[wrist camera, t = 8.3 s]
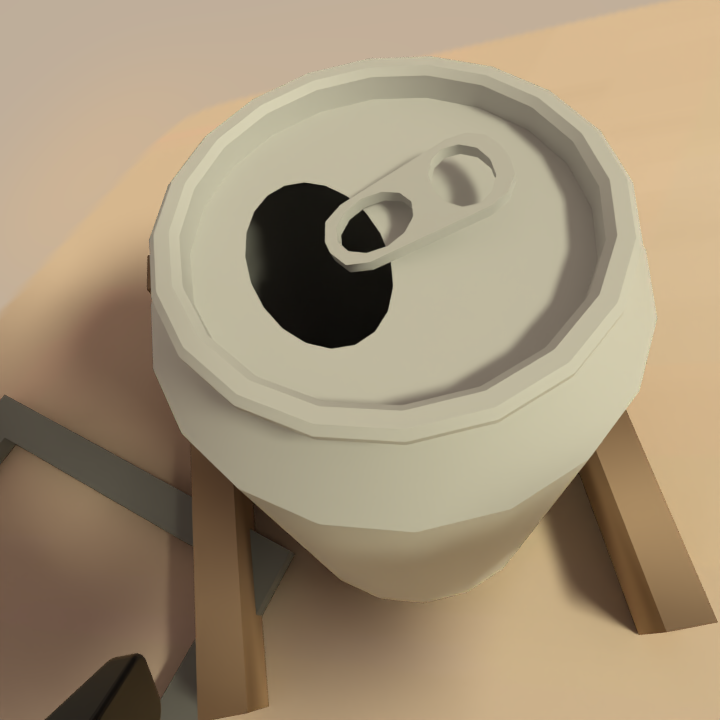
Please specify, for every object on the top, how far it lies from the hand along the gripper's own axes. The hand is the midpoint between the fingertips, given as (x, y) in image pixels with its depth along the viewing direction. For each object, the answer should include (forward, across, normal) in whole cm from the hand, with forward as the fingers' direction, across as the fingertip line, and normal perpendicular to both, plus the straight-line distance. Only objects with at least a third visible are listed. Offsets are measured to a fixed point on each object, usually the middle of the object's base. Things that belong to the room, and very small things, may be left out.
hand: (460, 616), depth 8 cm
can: (+9, 0, +3) cm, 10 cm away
